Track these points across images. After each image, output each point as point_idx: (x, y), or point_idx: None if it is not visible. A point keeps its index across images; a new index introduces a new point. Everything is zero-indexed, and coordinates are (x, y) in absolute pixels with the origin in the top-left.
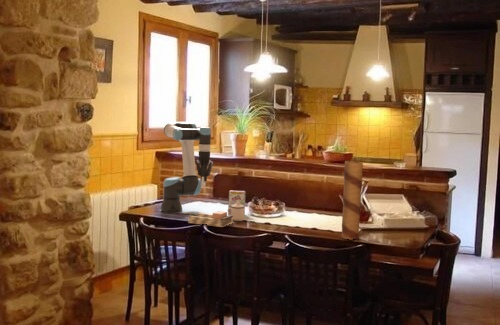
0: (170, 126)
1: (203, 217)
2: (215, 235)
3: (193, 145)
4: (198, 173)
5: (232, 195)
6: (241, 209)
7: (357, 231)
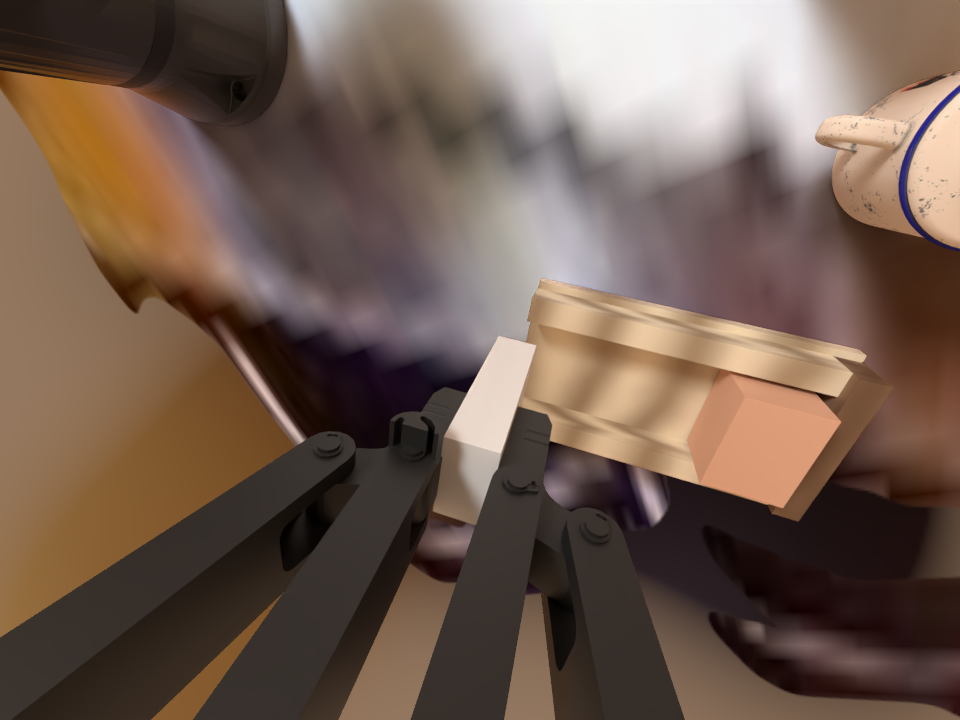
0: None
1: (617, 450)
2: (751, 648)
3: None
4: (307, 530)
5: None
6: None
7: None
